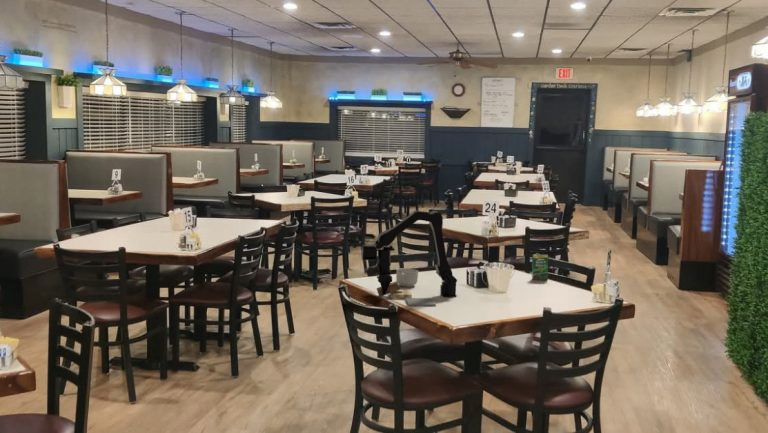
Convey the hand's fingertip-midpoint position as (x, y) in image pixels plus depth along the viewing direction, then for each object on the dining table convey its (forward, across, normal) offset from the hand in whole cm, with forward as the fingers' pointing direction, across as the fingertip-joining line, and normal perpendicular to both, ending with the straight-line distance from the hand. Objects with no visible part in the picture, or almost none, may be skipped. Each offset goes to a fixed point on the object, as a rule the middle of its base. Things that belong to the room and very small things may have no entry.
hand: (383, 293), depth 343 cm
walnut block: (-2, 0, +2) cm, 3 cm away
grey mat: (+1, +13, +16) cm, 20 cm away
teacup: (+2, -22, +12) cm, 25 cm away
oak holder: (+1, 0, +8) cm, 8 cm away
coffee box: (+2, -39, +84) cm, 93 cm away
